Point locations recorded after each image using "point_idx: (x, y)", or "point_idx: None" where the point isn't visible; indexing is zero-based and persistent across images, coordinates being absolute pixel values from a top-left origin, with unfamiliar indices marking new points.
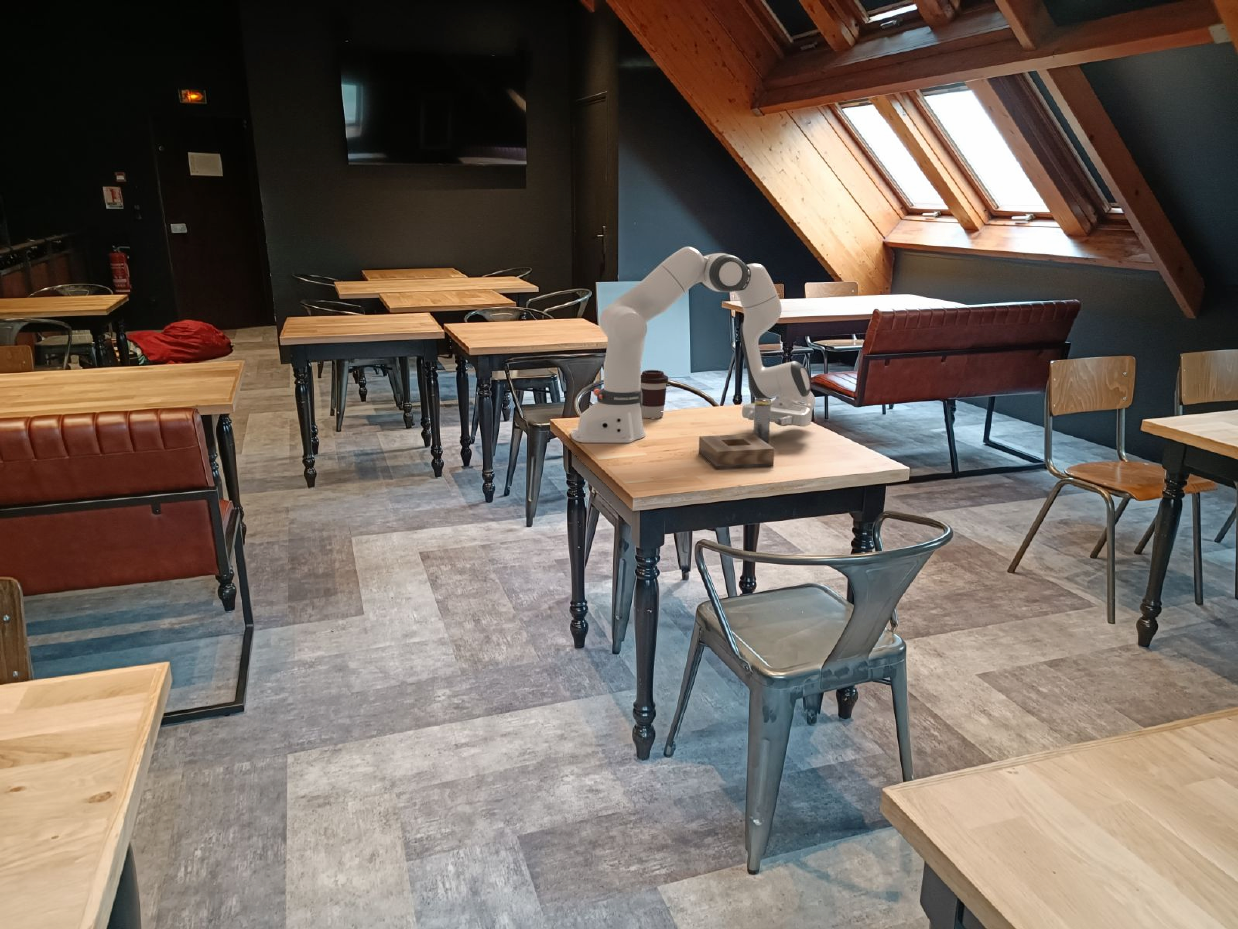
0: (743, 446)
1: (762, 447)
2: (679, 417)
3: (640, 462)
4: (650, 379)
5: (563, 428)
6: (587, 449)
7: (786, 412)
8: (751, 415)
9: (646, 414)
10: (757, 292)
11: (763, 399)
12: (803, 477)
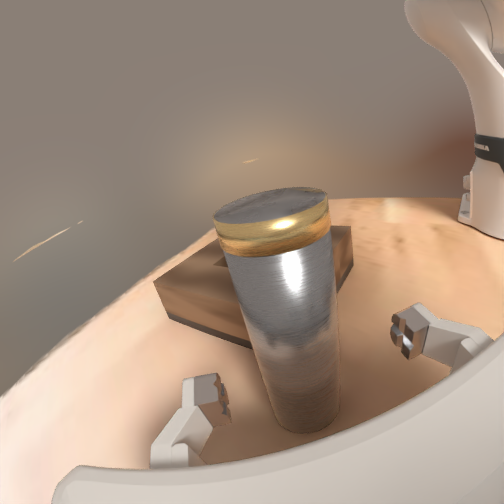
0: (220, 252)
1: (180, 270)
2: None
3: (351, 214)
4: None
5: None
6: (432, 197)
7: (205, 469)
8: (398, 313)
9: None
10: None
11: (280, 206)
12: (106, 315)
